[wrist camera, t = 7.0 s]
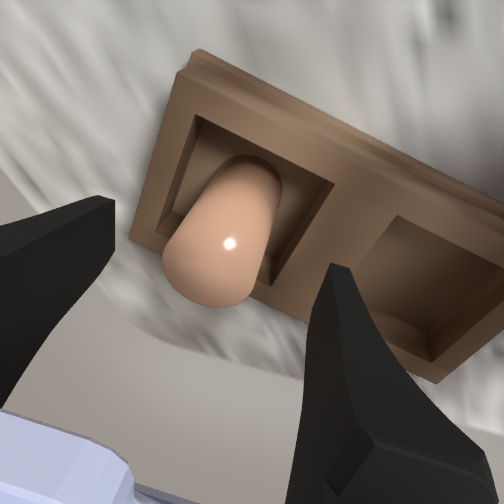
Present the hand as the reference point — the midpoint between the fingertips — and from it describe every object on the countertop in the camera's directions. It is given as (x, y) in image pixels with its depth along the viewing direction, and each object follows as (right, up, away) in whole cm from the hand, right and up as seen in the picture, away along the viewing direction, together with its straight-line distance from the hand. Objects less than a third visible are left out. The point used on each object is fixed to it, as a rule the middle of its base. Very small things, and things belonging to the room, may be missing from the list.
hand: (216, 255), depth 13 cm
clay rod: (+1, +3, +4) cm, 5 cm away
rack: (+5, +2, +5) cm, 7 cm away
